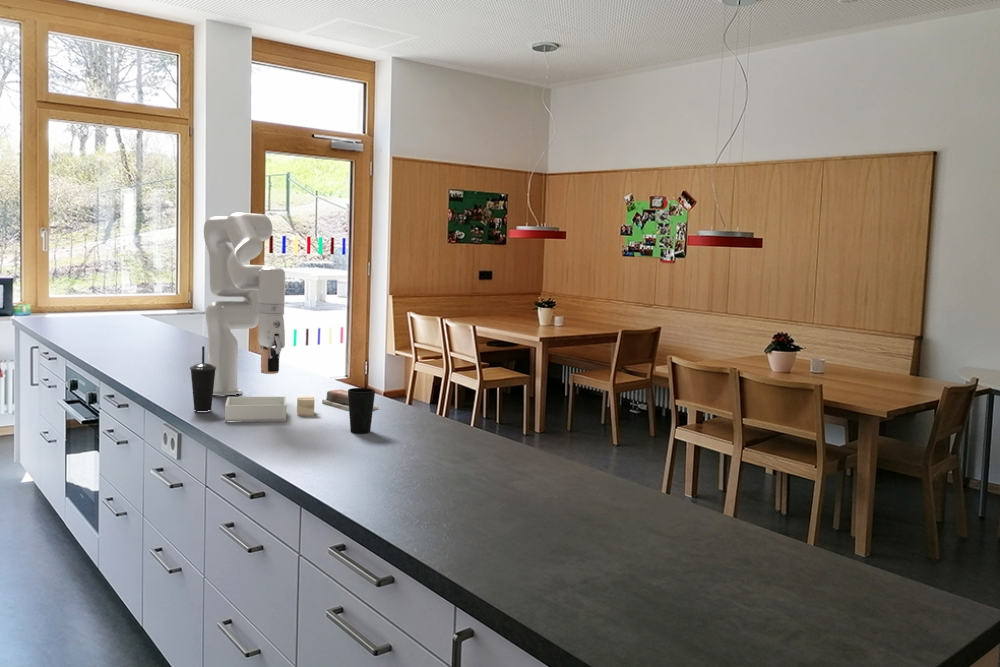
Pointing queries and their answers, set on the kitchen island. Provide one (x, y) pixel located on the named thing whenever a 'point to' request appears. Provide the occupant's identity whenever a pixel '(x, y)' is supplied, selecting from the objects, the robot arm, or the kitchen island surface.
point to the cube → (305, 406)
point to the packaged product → (339, 399)
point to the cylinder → (265, 361)
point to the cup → (360, 409)
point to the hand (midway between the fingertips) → (269, 369)
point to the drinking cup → (202, 384)
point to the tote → (256, 409)
